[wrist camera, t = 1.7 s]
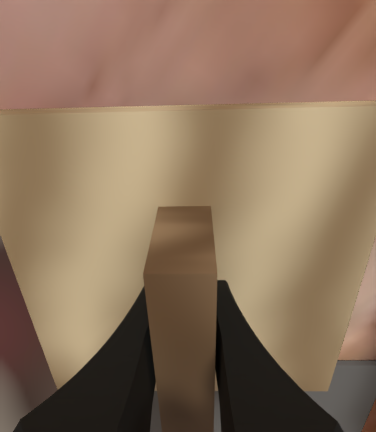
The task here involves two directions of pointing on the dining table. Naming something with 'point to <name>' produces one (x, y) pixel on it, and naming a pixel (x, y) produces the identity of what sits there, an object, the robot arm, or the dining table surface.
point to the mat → (324, 397)
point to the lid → (191, 232)
